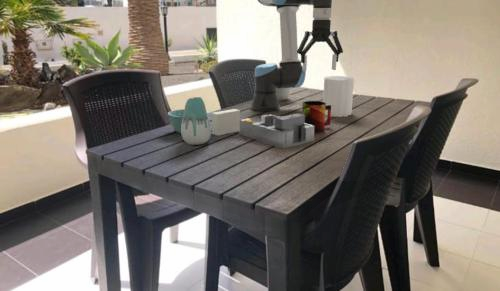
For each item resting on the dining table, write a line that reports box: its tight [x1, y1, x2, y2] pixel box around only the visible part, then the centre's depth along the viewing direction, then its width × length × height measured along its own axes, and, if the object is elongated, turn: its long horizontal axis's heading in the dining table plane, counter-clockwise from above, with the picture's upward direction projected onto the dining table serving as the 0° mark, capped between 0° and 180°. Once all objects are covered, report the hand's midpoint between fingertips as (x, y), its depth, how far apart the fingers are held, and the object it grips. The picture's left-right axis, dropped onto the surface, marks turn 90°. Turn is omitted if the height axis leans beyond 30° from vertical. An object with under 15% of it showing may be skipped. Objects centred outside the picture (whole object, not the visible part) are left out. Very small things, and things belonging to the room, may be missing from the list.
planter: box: [277, 88, 292, 102], centre depth 241 cm, size 17×17×15 cm
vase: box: [180, 96, 212, 146], centre depth 157 cm, size 12×12×18 cm
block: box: [211, 108, 241, 136], centre depth 172 cm, size 4×12×9 cm, turn 129°
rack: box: [238, 113, 316, 150], centre depth 165 cm, size 27×17×10 cm, turn 39°
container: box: [322, 75, 355, 118], centre depth 204 cm, size 14×14×18 cm
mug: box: [301, 100, 332, 135], centre depth 176 cm, size 10×14×12 cm
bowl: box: [167, 108, 185, 134], centre depth 174 cm, size 16×16×8 cm
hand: (319, 70), depth 178 cm, fingers open, 13 cm apart
